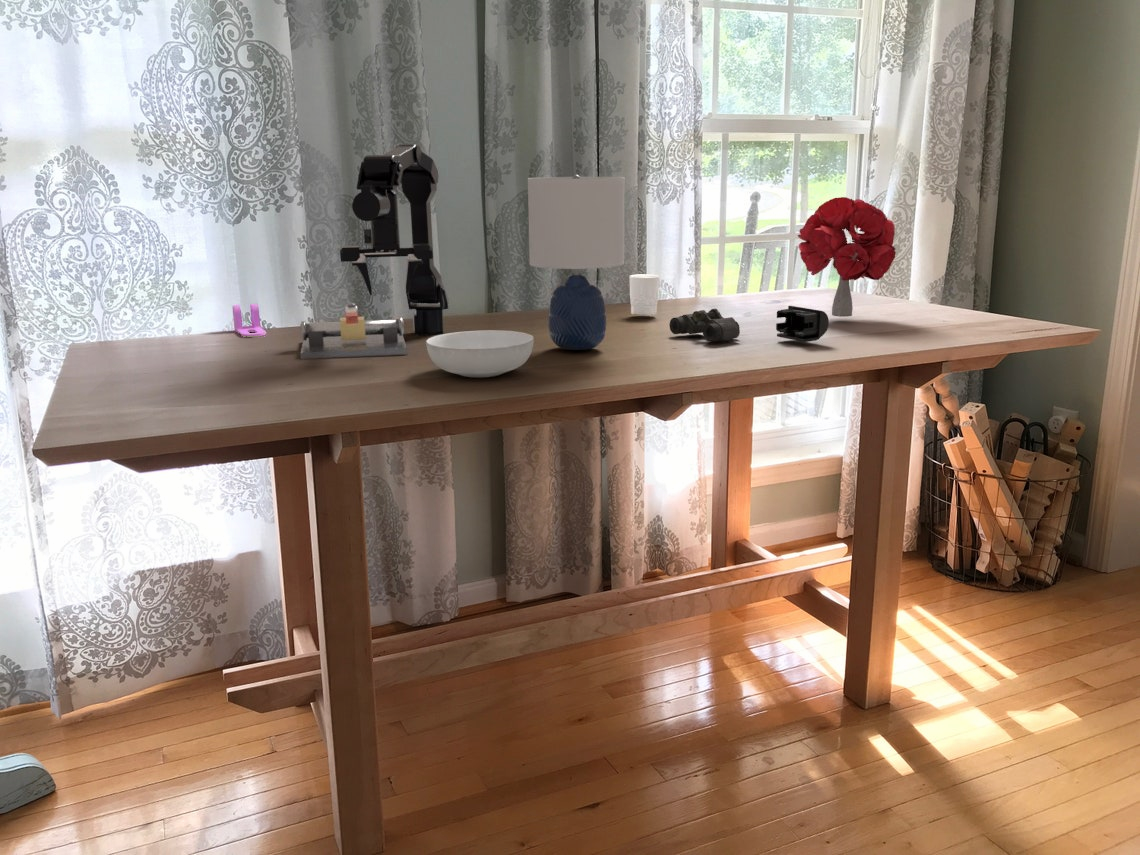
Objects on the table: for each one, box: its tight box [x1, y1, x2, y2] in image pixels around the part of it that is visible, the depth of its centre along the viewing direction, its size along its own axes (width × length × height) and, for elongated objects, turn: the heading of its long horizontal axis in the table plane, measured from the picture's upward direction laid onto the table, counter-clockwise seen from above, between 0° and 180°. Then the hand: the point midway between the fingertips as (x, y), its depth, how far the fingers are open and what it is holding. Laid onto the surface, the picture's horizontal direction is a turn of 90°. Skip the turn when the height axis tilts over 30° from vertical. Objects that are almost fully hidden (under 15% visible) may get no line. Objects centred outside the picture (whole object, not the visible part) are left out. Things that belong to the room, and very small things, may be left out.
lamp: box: [527, 174, 626, 351], centre depth 208 cm, size 20×20×37 cm
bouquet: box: [797, 196, 897, 318], centre depth 248 cm, size 22×24×30 cm
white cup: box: [628, 273, 660, 316], centre depth 257 cm, size 8×8×10 cm
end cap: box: [775, 305, 830, 343], centre depth 221 cm, size 10×7×7 cm
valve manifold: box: [300, 316, 408, 360], centre depth 213 cm, size 22×20×8 cm
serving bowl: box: [425, 329, 535, 378], centre depth 188 cm, size 21×21×7 cm
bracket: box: [232, 303, 267, 337], centre depth 232 cm, size 13×6×7 cm, turn 27°
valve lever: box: [344, 302, 359, 324], centre depth 205 cm, size 16×3×2 cm, turn 13°
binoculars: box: [669, 308, 741, 343], centre depth 226 cm, size 11×16×6 cm
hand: (388, 294), depth 203 cm, fingers open, 7 cm apart
